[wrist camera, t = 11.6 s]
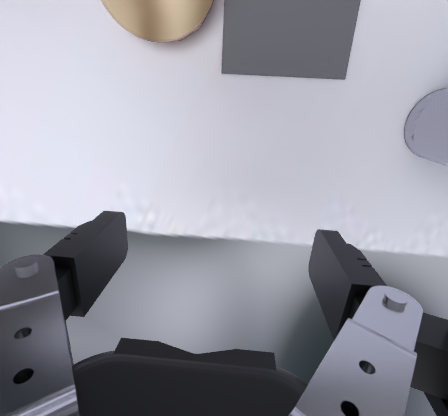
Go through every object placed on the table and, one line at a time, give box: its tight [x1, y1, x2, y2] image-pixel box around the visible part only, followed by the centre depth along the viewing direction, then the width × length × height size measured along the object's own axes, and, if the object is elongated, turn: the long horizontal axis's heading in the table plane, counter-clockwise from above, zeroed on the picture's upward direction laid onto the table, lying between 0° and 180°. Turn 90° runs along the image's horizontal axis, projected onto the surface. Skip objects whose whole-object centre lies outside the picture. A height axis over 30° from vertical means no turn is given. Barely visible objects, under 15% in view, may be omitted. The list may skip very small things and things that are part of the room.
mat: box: [222, 0, 361, 79], centre depth 33 cm, size 16×16×1 cm
